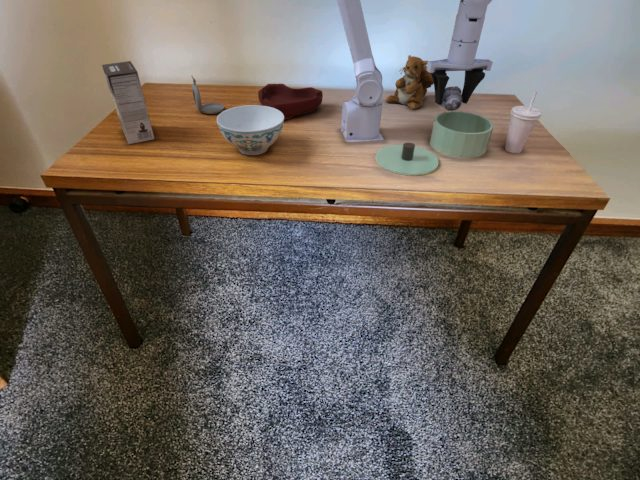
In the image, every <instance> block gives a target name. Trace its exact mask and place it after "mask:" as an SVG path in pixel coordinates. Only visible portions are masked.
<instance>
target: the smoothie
mask: <svg viewBox="0 0 640 480" xmlns="http://www.w3.org/2000/svg"><path fill="white" fill-rule="evenodd" d="M537 93H538V92H537V91H534V92H533V94H532V97H531V100H530V103H529V105H515V106H513V107H512V108H511V110H510V120H509V124H508V131H507V136H506V139H505V145H504V150H505V152H508V153H511V154H520V153H521V152H522V151H523V148H524V147H525V145H526V143H527V141H528V139H529V137H530V135H531V133H532V132H533V130H534V128H535V126H536V124H537V122H538V120H540V119H541V116H542V112H541V110H540V109H538V108H535V107H533V106H534V105H533V104H534V102H535V99H536V96H537Z"/></svg>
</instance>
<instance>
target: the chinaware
mask: <svg viewBox="0 0 640 480" xmlns="http://www.w3.org/2000/svg"><path fill="white" fill-rule="evenodd" d="M216 123H217V126H218V129H219V131H220V133H221V134H222V136H223V137H224V139H225V141H227V142H228V143H229V144H230V145H232V147H235V148H236V149H238V151H239V152H240V153H241V154H243V155H247V156H259V155H262V154H264V153H266V152H267V151H268V150H269V147H271V146H272V145H273V144H274V143H275V142H276V141H277V139H278V138H279V137H280V135H281V132H282V131H283V127H284V123H285V120H284V115H283V113H282V112H281V111H279V110H277V109H275V108H272V107H268V106H262V105H261V104H259V105H258V104H247V105H239V106H234V107H231V108H230V107H229V108H227V109H225V110H223V111H221V112H219V113H218V115H217V117H216Z"/></svg>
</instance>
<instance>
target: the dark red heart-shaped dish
mask: <svg viewBox="0 0 640 480" xmlns="http://www.w3.org/2000/svg"><path fill="white" fill-rule="evenodd" d="M257 97H258V102H259V103H260V105H261V106H268V107H272V108H275V109H277V110H279V111H281V112H282V113H283V115H284V121H286V120H288V119H292V118H294V117H297V116H300V115H303V114H307V113H312V112H315V111H317V110H318V109H319V108H320V106H321V105H322V103H323V91H322V90H321V89H318V88H315V87H311V86H310V87H301V88H292V87H289V86H287V85H286V84H284V83H267V84H266V85H265V86H263V87H262V88H261V89H258V92H257Z"/></svg>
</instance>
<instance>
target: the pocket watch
mask: <svg viewBox="0 0 640 480" xmlns="http://www.w3.org/2000/svg"><path fill="white" fill-rule="evenodd" d="M191 78H192V83H193V84H192V85H191V91H192V96H193V101H194V106H195V107H196V109H197V111H200V112H201V113H202V114H206V115H215V114H220V113H221V112H223V111H225V110H224V109H225V106H224V105H223V104H221V103H217V102H211V103H210V102H209V103H205V104H202V98H201V94H200V89H199V87H198V85H197V83H196V82H197V81H196V79H195V77H194V76H193V75H191Z"/></svg>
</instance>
